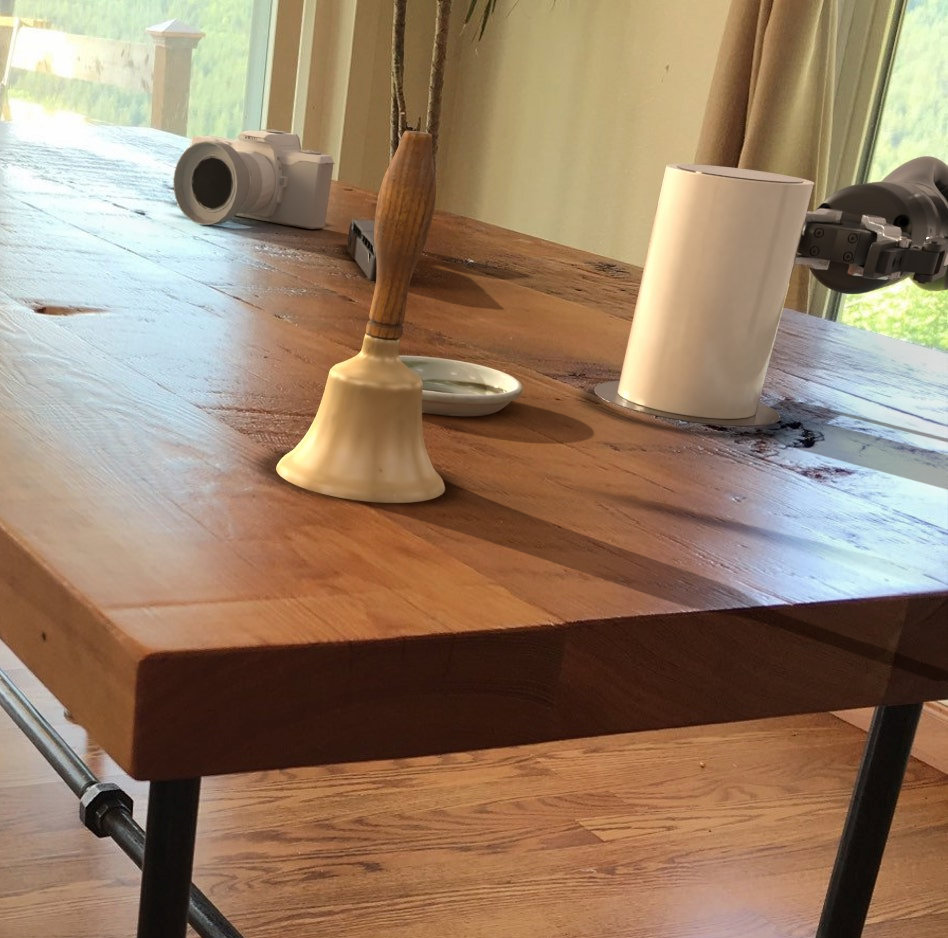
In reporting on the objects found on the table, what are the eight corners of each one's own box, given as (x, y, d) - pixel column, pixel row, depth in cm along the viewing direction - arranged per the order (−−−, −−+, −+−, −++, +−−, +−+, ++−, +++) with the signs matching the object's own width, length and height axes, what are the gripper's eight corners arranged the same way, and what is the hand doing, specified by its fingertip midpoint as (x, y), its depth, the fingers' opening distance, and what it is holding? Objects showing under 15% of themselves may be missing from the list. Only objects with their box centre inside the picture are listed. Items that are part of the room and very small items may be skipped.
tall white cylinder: (729, 426, 94) (788, 185, 89) (595, 396, 98) (644, 164, 93) (797, 397, 104) (854, 178, 98) (672, 371, 108) (721, 159, 102)
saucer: (317, 395, 97) (323, 353, 95) (460, 395, 100) (466, 354, 99) (396, 439, 89) (403, 394, 88) (548, 437, 92) (556, 394, 91)
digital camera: (128, 247, 166) (118, 141, 163) (227, 237, 175) (220, 136, 172) (244, 236, 154) (236, 121, 151) (345, 226, 163) (339, 117, 160)
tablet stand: (345, 250, 152) (349, 216, 151) (373, 252, 152) (378, 218, 151) (368, 282, 136) (373, 245, 135) (399, 285, 136) (405, 247, 135)
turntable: (773, 413, 103) (777, 398, 103) (780, 452, 94) (784, 435, 93) (595, 387, 106) (598, 371, 105) (585, 422, 96) (588, 405, 96)
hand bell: (379, 456, 85) (430, 124, 78) (480, 504, 78) (545, 147, 71) (242, 464, 81) (282, 116, 74) (336, 515, 75) (390, 139, 68)
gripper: (791, 168, 123) (715, 175, 111) (992, 196, 116) (935, 207, 104) (765, 272, 126) (689, 289, 114) (959, 306, 119) (900, 329, 107)
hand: (806, 250), depth 109 cm, fingers open, 8 cm apart
